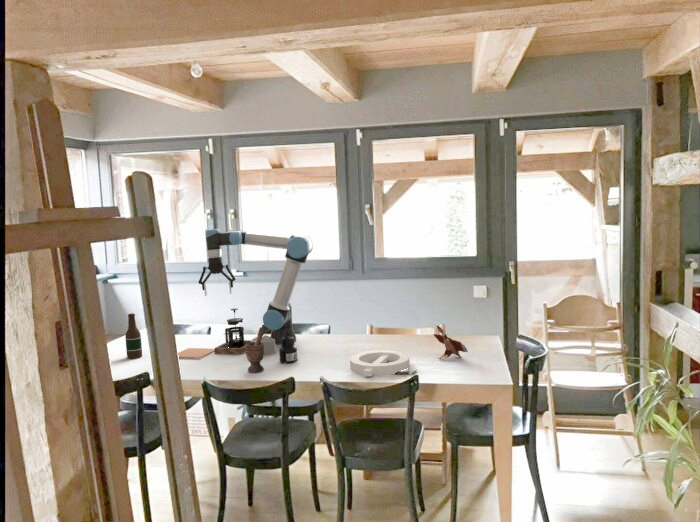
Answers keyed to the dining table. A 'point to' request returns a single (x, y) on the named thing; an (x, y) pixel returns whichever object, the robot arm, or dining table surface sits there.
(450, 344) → the decorative bird
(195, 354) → the terracotta pad
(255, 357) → the mortar and pestle
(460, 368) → the dining table surface
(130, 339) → the beer bottle
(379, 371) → the white circle with bar
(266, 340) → the lumpy-topped squat cylinder
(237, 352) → the brown wooden tray
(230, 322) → the french press
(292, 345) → the ink bottle
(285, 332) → the robot arm
